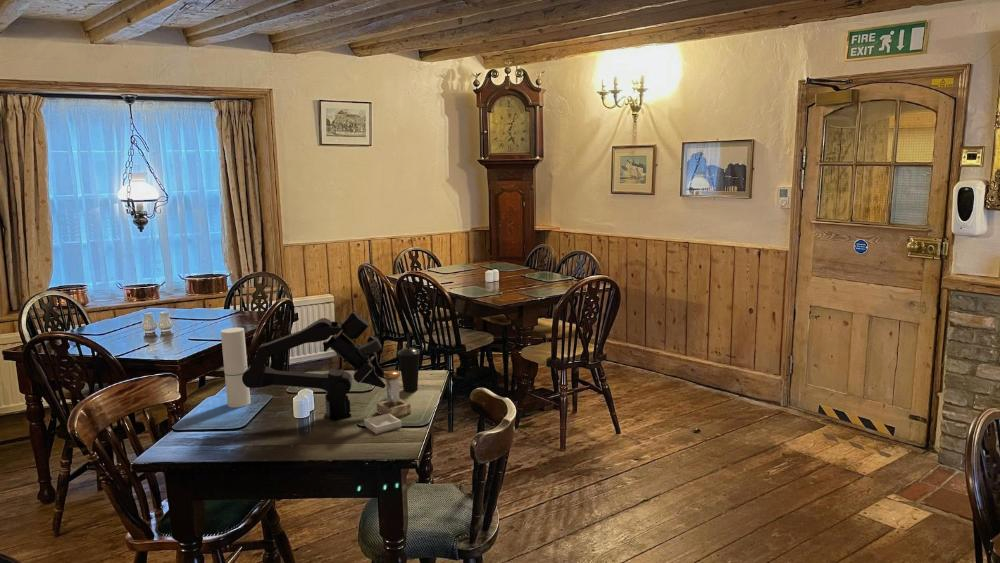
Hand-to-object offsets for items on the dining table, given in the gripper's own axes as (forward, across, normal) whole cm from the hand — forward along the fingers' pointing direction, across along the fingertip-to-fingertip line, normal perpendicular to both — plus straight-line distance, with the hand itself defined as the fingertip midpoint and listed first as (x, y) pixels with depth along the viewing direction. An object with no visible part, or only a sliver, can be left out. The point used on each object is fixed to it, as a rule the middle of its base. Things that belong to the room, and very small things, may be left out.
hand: (385, 382), depth 221 cm
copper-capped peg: (+9, 0, +6) cm, 10 cm away
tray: (+7, -11, +8) cm, 15 cm away
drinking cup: (+12, +22, +2) cm, 25 cm away
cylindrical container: (-28, +18, +42) cm, 53 cm away
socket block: (+9, 0, +6) cm, 10 cm away
